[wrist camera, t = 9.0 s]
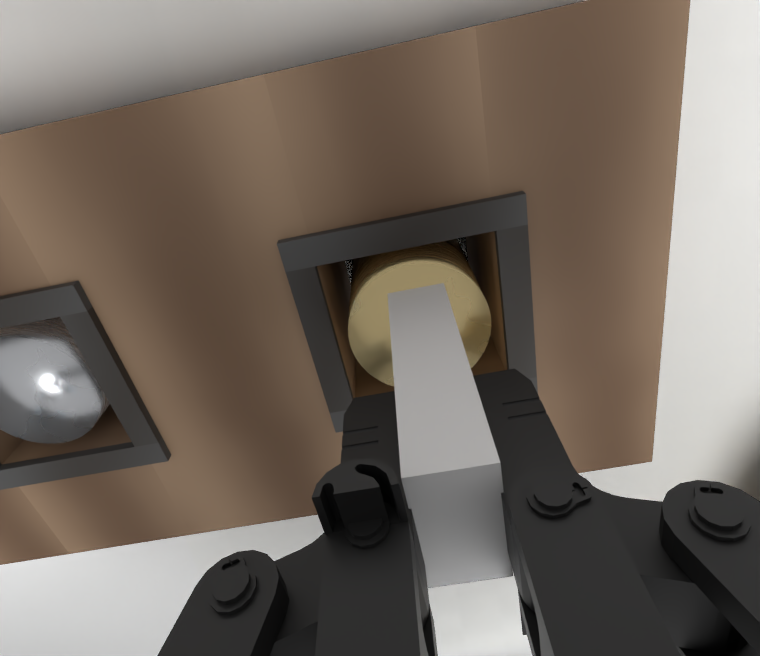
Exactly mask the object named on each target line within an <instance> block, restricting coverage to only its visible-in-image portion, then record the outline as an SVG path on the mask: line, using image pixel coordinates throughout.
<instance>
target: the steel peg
mask: <svg viewBox="0 0 760 656" xmlns="http://www.w3.org/2000/svg"><path fill="white" fill-rule="evenodd" d="M109 404H110V403H109V401H108V400H107V398H106V396H105V394H104V393H103V391H102V389H101V387H100V386H99V384H98V382H97V380H96V379H95V377H94V375H93V373H92V372H91V370H90V368H89V366H88V365H87V363H86V361H85V359H84V358H83V356H82V354H81V353H80V351H79V349H78V347H77V346H76V344H75V342H74V340H73V339H72V337H71V335H70V333H69V332H68V330H67V328H66V326H65V325H64V323H63V321H62V319H61V318H60V317H56V318H50V319H45V320H40V321H35V322H30V323H25V324H20V325H15V326H10V327H5V328H0V430H2V431H4V432H6V433H8V434H10V435H12V436H15V437H18V438H20V439H24V440H27V441H31V442H37V443H46V444H57V443H65V442H69V441H72V440H75V439H78V438H80V437H82V436H83V435H85V434H86V433H87V432H89V431H90V430H91V429H92V427H93V426H94V425H95V424H96V422H97V421H98V419H99V418H100V417H101V415H102V414H103V413H104V411H105V410H106V408H107V407H108V406H109Z"/></svg>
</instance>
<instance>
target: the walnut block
mask: <svg viewBox="0 0 760 656" xmlns="http://www.w3.org/2000/svg"><path fill="white" fill-rule="evenodd" d="M689 9H690V0H586V1H582V2H577V3H573V4H569V5H564V6H560V7H556V8H551V9H547V10H542V11H538V12H534V13H529V14H525V15H520V16H516V17H512V18H507V19H503V20H499V21H494V22H490V23H485V24H481V25H477V26H472V27H468V28H464V29H459V30H455V31H450V32H446V33H442V34H437V35H433V36H429V37H424V38H420V39H415V40H411V41H407V42H402V43H398V44H393V45H389V46H385V47H380V48H376V49H372V50H367V51H363V52H358V53H354V54H350V55H345V56H341V57H337V58H332V59H328V60H323V61H319V62H315V63H310V64H306V65H301V66H297V67H293V68H288V69H284V70H280V71H275V72H271V73H266V74H262V75H258V76H253V77H249V78H245V79H240V80H236V81H231V82H227V83H223V84H218V85H214V86H210V87H205V88H201V89H196V90H192V91H188V92H183V93H179V94H174V95H170V96H166V97H161V98H157V99H153V100H148V101H144V102H139V103H135V104H131V105H126V106H122V107H118V108H113V109H109V110H104V111H100V112H96V113H91V114H87V115H83V116H78V117H74V118H69V119H65V120H61V121H56V122H52V123H47V124H43V125H39V126H34V127H30V128H26V129H21V130H17V131H12V132H8V133H4V134H0V328H5V327H10V326H15V325H20V324H25V323H30V322H35V321H40V320H45V319H50V318H56V317H60V318H61V319H62V321H63V323H64V325H65V326H66V328H67V330H68V332H69V333H70V335H71V337H72V339H73V340H74V342H75V344H76V346H77V347H78V349H79V351H80V353H81V354H82V356H83V358H84V359H85V361H86V363H87V365H88V366H89V368H90V370H91V372H92V373H93V375H94V377H95V379H96V380H97V382H98V384H99V386H100V387H101V389H102V391H103V393H104V394H105V396H106V398H107V400H108V401H109V403H110V404H109V406H108V407H107V408H106V410H105V411H104V413H103V414H102V415H101V417H100V418H99V419H98V421H97V422H96V424H95V425H94V426H93V427H92V429H91V430H90V431H89V432H87V433H86V434H85V435H83V436H82V437H80V438H78V439H75V440H72V441H69V442H65V443H57V444H46V443H37V442H31V441H27V440H24V439H20V438H18V437H15V436H12V435H10V434H8V433H6V432H4V431H2V430H0V565H2V564H8V563H15V562H21V561H27V560H33V559H40V558H46V557H52V556H59V555H65V554H71V553H78V552H84V551H90V550H97V549H103V548H109V547H115V546H122V545H128V544H134V543H141V542H147V541H153V540H160V539H166V538H172V537H179V536H185V535H191V534H198V533H204V532H210V531H216V530H223V529H229V528H235V527H242V526H248V525H254V524H261V523H267V522H273V521H280V520H286V519H292V518H299V517H305V516H311V515H317V511H316V508H315V506H314V503H313V500H312V495H313V492H314V489H315V487H316V484H317V483H318V482H319V481H320V479H321V478H322V477H323V476H324V475H325V474H326V472H328V471H330V470H331V469H333V468H334V467H336V466H337V465H339V464H340V463H341V450H342V435H343V420H344V413H345V412H346V410H347V409H348V407H349V405H350V404H351V402H352V400H353V399H354V398H356V397H362V396H368V395H374V394H380V393H385V392H391V391H395V389H394V386H391V385H388V384H386V383H383V382H381V381H379V380H378V379H376V378H374V377H373V376H372V375H370V374H369V373H368V372H367V371H366V370H365V369H364V368H363V367H362V366H361V365H360V363H359V362H358V361H357V359H356V358H355V356H354V354H353V352H352V349H351V346H350V342H349V337H348V321H349V307H350V293H351V284H350V280H349V276H348V272H347V268H346V264H345V260H350V259H355V258H360V257H365V256H371V255H376V254H381V253H386V252H391V251H396V250H401V249H406V248H411V247H416V246H421V245H426V244H432V243H437V242H442V241H447V240H452V239H457V238H462V237H465V238H466V246H467V254H468V262H469V265H470V267H471V269H472V272H473V274H474V276H475V278H476V280H477V282H478V284H479V286H480V288H481V291H482V293H483V295H484V297H485V299H486V301H487V304H488V307H489V309H490V315H491V334H490V338H489V342H488V344H487V347H486V349H485V351H484V353H483V354H482V356H481V358H480V359H479V360H478V361H477V363H476V364H475V365H474V366H473V367H472V368H471V371H472V374H473V376H474V375H480V374H486V373H492V372H497V371H503V370H509V369H516V370H518V371H519V372H520V373H522V374H523V375H524V376H526V377H527V378H528V379H530V380H531V381H532V383H533V385H534V387H535V389H536V391H537V393H538V395H539V398H540V400H541V401H542V404H543V406H544V408H545V410H546V413H547V414H548V416H549V418H550V420H551V422H552V424H553V426H554V428H555V430H556V432H557V434H558V436H559V439H560V441H561V443H562V445H563V447H564V449H565V451H566V453H567V455H568V457H569V459H570V461H571V463H572V465H573V467H574V468H575V470H576V471H577V473H583V472H589V471H595V470H601V469H608V468H614V467H620V466H627V465H633V464H639V463H646V462H652V455H653V443H654V431H655V419H656V407H657V395H658V383H659V370H660V358H661V346H662V334H663V322H664V310H665V298H666V286H667V274H668V262H669V250H670V238H671V226H672V214H673V202H674V190H675V177H676V165H677V153H678V141H679V129H680V117H681V105H682V93H683V81H684V69H685V57H686V45H687V33H688V21H689Z"/></svg>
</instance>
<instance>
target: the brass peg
mask: <svg viewBox="0 0 760 656" xmlns="http://www.w3.org/2000/svg"><path fill="white" fill-rule="evenodd" d="M441 283H444V285H445V289H446V292H447V295H448V298H449V301H450V304H451V308H452V311H453V314H454V317H455V320H456V323H457V327H458V330H459V333H460V336H461V339H462V342H463V346H464V349H465V352H466V355H467V358H468V361H469V365H470V368H472V367H473V366H474V365H475V364H476V363H477V361H478V360H479V359H480V358H481V356H482V354H483V353H484V351H485V349H486V347H487V344H488V342H489V338H490V334H491V315H490V309H489V307H488V304H487V301H486V299H485V297H484V295H483V293H482V291H481V288H480V286H479V284H478V282H477V280H476V278H475V276H474V274H473V272H472V269H471V267H470V265H469V263H468V261H467V259H466V257H465V255H464V253H463V250H462V248H461V246H460V244H459V242H458V240H457V239H452V240H447V241H442V242H437V243H432V244H426V245H421V246H416V247H411V248H406V249H401V250H396V251H391V252H386V253H381V254H376V255H371V256H365V257H360V258H355V259H353V264H352V278H351V293H350V307H349V321H348V337H349V342H350V346H351V349H352V352H353V354H354V356H355V358H356V359H357V361H358V362H359V363H360V365H361V366H362V367H363V368H364V369H365V370H366V371H367V372H368V373H369V374H370V375H372V376H373V377H374V378H376V379H378V380H379V381H381V382H383V383H386V384H388V385H391V386H394V375H393V362H392V348H391V335H390V321H389V308H388V293H393V292H398V291H403V290H409V289H414V288H419V287H425V286H430V285H435V284H441Z"/></svg>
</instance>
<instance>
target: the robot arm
mask: <svg viewBox="0 0 760 656" xmlns="http://www.w3.org/2000/svg"><path fill="white" fill-rule="evenodd" d="M388 308H389V321H390V335H391V348H392V362H393V375H394V389H395V391H391V392H385V393H380V394H374V395H368V396H362V397H356V398H354V399H353V400H352V402H351V404H350V405H349V407H348V409H347V410H346V412H345V413H344V420H343V435H342V450H341V463H340V464H339V465H337V466H336V467H334V468H333V469H331V470H330V471H328V472H326V474H325V475H324V476H323V477H322V478H321V479H320V481H319V482H318V483H317V484H316V487H315V489H314V492H313V495H312V500H313V503H314V506H315V508H316V511H317V514H318V516H319V519H320V522H321V524H322V527H323V530H324V533H323V534H322V535H321V536H320V537H319V538H318V539H316V540H315V541H314V542H313V543H311V544H309V545H308V546H306V547H304V548H302V549H301V550H298V551H296V552H294V553H292V554H290V555H287V556H285V557H283V558H281V559H279V560H276V561H273V560H272V559H271V558H270V557H269V556H268V555H267V554H265V553H262V552H258V551H255V550H250V551H241V552H236V553H234V554H232V555H230V556H228V557H225V558H223V559H221V560H220V561H219V562H217V563H216V564H215V565H214V566H213V567H211V568H210V569H209V570H208V571H207V572H206V573H205V574H204V576H203V577H202V578H201V580H200V581H199V582H198V584H197V585H196V587H195V588H194V590H193V592H192V594H191V596H190V598H189V599H188V601H187V603H186V605H185V607H184V608H183V610H182V612H181V614H180V616H179V618H178V619H177V621H176V623H175V625H174V627H173V629H172V630H171V632H170V634H169V636H168V638H167V639H166V641H165V643H164V645H163V647H162V649H161V650H160V652H159V654H158V656H438V654H437V646H436V637H435V628H434V620H433V616H432V612H431V608H430V604H429V597H428V588H431V587H438V586H445V585H452V584H459V583H466V582H474V581H481V580H488V579H495V578H502V577H509V576H513V572H514V576H515V580H516V583H517V587H518V593H519V603H520V612H521V621H522V631H523V635H527V636H528V640H529V644H530V648H531V651H532V655H533V656H760V501H758V500H757V499H755V498H753V497H752V496H750V495H748V494H747V493H745V492H744V491H742V490H740V489H738V488H735V487H732V486H729V485H726V484H723V483H720V482H712V481H702V480H696V481H691V482H685V483H680V484H679V485H677V486H675V487H674V488H672V489H671V490H669V491H668V492H667V494H666V496H665V498H664V500H663V502H658V501H649V500H640V499H631V498H625V497H620V496H615V495H611V494H609V493H606V492H603V491H601V490H599V489H597V488H595V487H594V486H592V485H591V483H590V482H589V481H588V480H587V479H585V478H583V477H582V476H580V475H579V474H578V473H577V471H576V470H575V468H574V467H573V465H572V463H571V461H570V459H569V457H568V455H567V453H566V451H565V449H564V447H563V445H562V443H561V441H560V439H559V436H558V434H557V432H556V430H555V428H554V426H553V424H552V422H551V420H550V418H549V416H548V414H547V413H546V410H545V408H544V406H543V404H542V401H541V400H540V398H539V395H538V393H537V391H536V389H535V387H534V385H533V383H532V381H531V380H530V379H528V378H527V377H526V376H524V375H523V374H522V373H520V372H519V371H518V370H516V369H509V370H503V371H497V372H492V373H486V374H480V375H474V376H473V374H472V371H471V368H470V365H469V361H468V358H467V355H466V352H465V349H464V346H463V342H462V339H461V336H460V333H459V330H458V327H457V323H456V320H455V317H454V314H453V311H452V308H451V304H450V301H449V298H448V295H447V292H446V289H445V285H444V283H441V284H435V285H430V286H425V287H419V288H414V289H409V290H403V291H398V292H393V293H388ZM512 569H513V571H512ZM427 585H428V587H427Z"/></svg>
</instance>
